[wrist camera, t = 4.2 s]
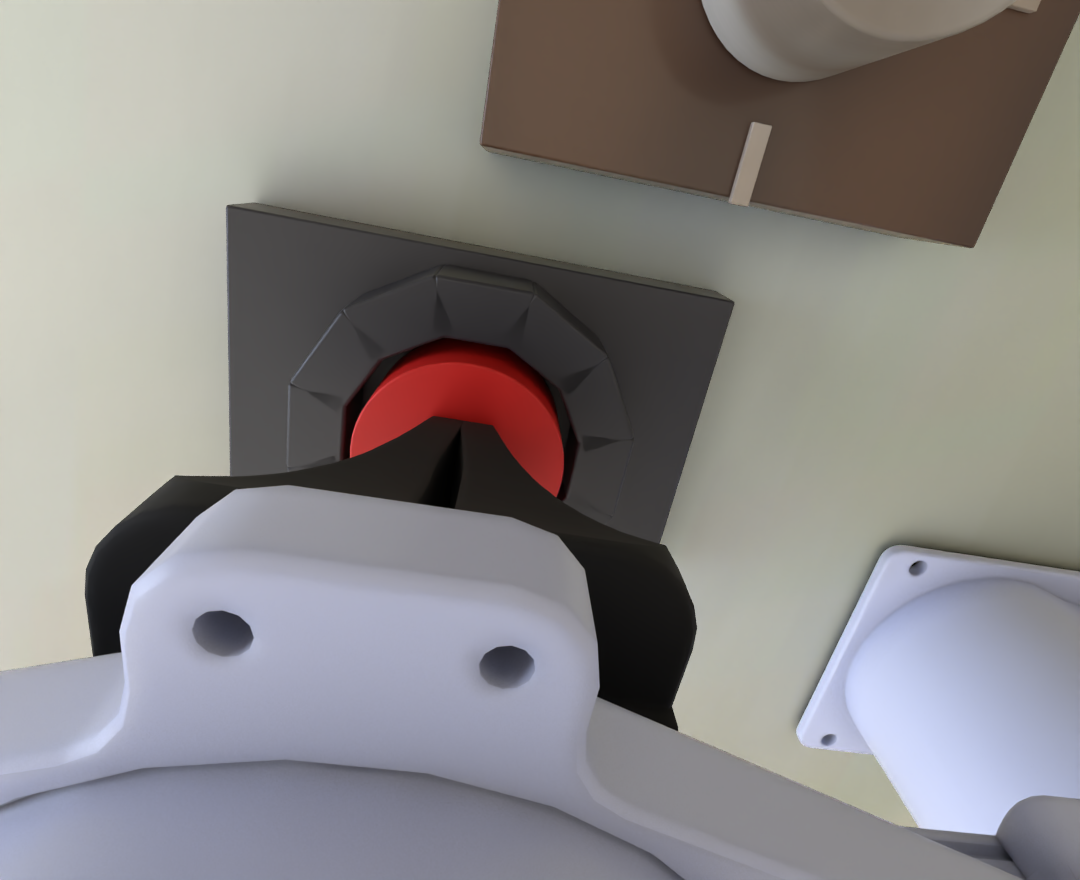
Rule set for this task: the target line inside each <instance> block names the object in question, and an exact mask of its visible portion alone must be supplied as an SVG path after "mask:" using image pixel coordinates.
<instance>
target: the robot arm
mask: <svg viewBox="0 0 1080 880" xmlns="http://www.w3.org/2000/svg"><path fill="white" fill-rule="evenodd" d="M917 561H918V563H917V564H916V565H915V566H913V567H910V566H911V565H912V564H913V563H915V562H917ZM85 599H86V607H87V614H88V622H89V629H90V637H91V644H92V652H93V657H88V658H82V659H75V660H69V661H63V662H56V663H50V664H44V665H37V666H31V667H25V668H18V669H12V670H6V671H0V880H1080V571H1073V570H1066V569H1060V568H1053V567H1046V566H1040V565H1033V564H1026V563H1020V562H1013V561H1007V560H1000V559H993V558H987V557H980V556H973V555H967V554H960V553H953V552H947V551H940V550H934V549H927V548H920V547H914V546H907V545H895V546H892V547H889V548H888V549H886V550H885V551H884V552H883V553H882V554H881V556H880V557H879V560H878V562H877V564H876V566H875V568H874V570H873V572H872V574H871V576H870V578H869V580H868V582H867V584H866V586H865V588H864V590H863V593H862V595H861V597H860V599H859V601H858V603H857V605H856V607H855V609H854V611H853V613H852V615H851V617H850V619H849V621H848V623H847V625H846V628H845V630H844V632H843V634H842V636H841V638H840V640H839V642H838V644H837V646H836V648H835V650H834V652H833V654H832V656H831V658H830V661H829V663H828V665H827V667H826V669H825V671H824V673H823V675H822V677H821V679H820V681H819V683H818V685H817V687H816V689H815V691H814V693H813V696H812V698H811V700H810V702H809V704H808V706H807V708H806V710H805V712H804V714H803V716H802V718H801V720H800V722H799V724H798V726H797V729H796V734H797V736H798V738H799V740H800V742H801V744H802V745H804V746H806V747H809V748H817V749H826V750H835V751H844V752H853V753H862V754H872V755H874V756H875V757H876V759H877V761H878V762H879V764H880V766H881V767H882V769H883V770H884V772H885V774H886V775H887V777H888V778H889V780H890V782H891V783H892V785H893V786H894V788H895V790H896V791H897V793H898V795H899V796H900V798H901V799H902V801H903V803H904V804H905V806H906V807H907V809H908V811H909V812H910V814H911V816H912V817H913V819H914V820H915V822H916V824H917V825H918V827H919V828H913V827H903V826H898V825H895V824H893V823H891V822H888V821H886V820H884V819H881V818H879V817H877V816H874V815H872V814H870V813H867V812H865V811H863V810H860V809H858V808H856V807H853V806H851V805H849V804H846V803H844V802H842V801H839V800H837V799H834V798H832V797H830V796H827V795H825V794H823V793H820V792H818V791H816V790H813V789H811V788H809V787H806V786H804V785H802V784H799V783H797V782H795V781H792V780H790V779H788V778H785V777H783V776H781V775H778V774H776V773H774V772H771V771H769V770H767V769H764V768H762V767H760V766H757V765H755V764H753V763H750V762H748V761H746V760H743V759H741V758H739V757H736V756H734V755H732V754H729V753H727V752H725V751H722V750H720V749H718V748H715V747H713V746H711V745H708V744H706V743H704V742H701V741H699V740H697V739H694V738H692V737H690V736H687V735H685V734H683V733H680V732H678V726H677V722H676V719H675V716H674V712H673V709H672V705H673V702H674V699H675V696H676V694H677V691H678V688H679V685H680V683H681V680H682V677H683V675H684V672H685V669H686V666H687V664H688V661H689V658H690V656H691V653H692V650H693V645H694V640H695V635H696V630H697V625H696V617H695V610H694V605H693V603H692V600H691V598H690V595H689V593H688V590H687V588H686V585H685V583H684V581H683V578H682V576H681V574H680V571H679V569H678V567H677V565H676V564H675V562H674V560H673V558H672V556H671V554H670V552H669V551H668V549H667V547H666V546H665V545H662V544H659V543H655V542H652V541H649V540H646V539H642V538H639V537H636V536H633V535H630V534H626V533H623V532H621V531H618V530H616V529H614V528H611V527H609V526H607V525H604V524H602V523H600V522H597V521H595V520H593V519H591V518H589V517H587V516H585V515H584V514H582V513H580V512H579V511H577V510H575V509H574V508H572V507H570V506H568V505H567V504H565V503H564V502H562V501H561V500H559V499H558V498H556V497H555V496H554V495H552V494H551V493H550V492H549V491H547V490H546V489H545V488H544V487H542V486H541V485H540V484H539V483H538V482H537V481H536V480H535V479H533V478H532V477H531V475H530V474H529V473H528V472H527V471H526V470H525V469H524V468H523V467H522V466H521V465H520V464H519V462H518V461H517V460H516V459H515V458H514V456H513V455H512V454H511V452H510V451H509V450H508V448H507V447H506V445H505V443H504V442H503V440H502V439H501V437H500V435H499V434H498V432H497V431H496V429H495V428H494V426H493V425H488V424H482V423H476V422H469V421H463V420H457V419H451V418H444V417H438V416H432V417H430V418H429V419H427V420H425V421H424V422H422V423H421V424H419V425H417V426H416V427H414V428H413V429H411V430H409V431H407V432H406V433H404V434H402V435H401V436H399V437H397V438H395V439H393V440H391V441H389V442H387V443H385V444H383V445H381V446H378V447H376V448H374V449H372V450H370V451H368V452H365V453H363V454H360V455H357V456H354V457H351V458H348V459H345V460H342V461H339V462H335V463H331V464H327V465H322V466H317V467H312V468H307V469H303V470H298V471H292V472H284V473H276V474H266V475H252V476H174V477H173V478H172V479H170V480H169V481H168V482H167V483H165V484H164V485H163V486H162V487H161V488H159V489H158V490H157V491H156V492H155V493H153V494H152V495H151V496H150V497H149V498H147V499H146V500H145V501H144V502H143V503H142V504H141V505H139V506H138V507H137V508H136V509H135V510H134V511H132V512H131V513H130V514H129V515H128V516H127V517H126V518H124V519H123V520H122V521H121V522H120V523H119V524H117V525H116V526H115V527H114V528H113V529H112V530H111V531H110V532H109V533H108V534H107V535H106V536H105V537H104V538H103V539H102V540H101V542H100V543H99V544H98V545H97V546H96V547H95V550H94V552H93V554H92V557H91V559H90V561H89V563H88V566H87V568H86V580H85Z"/></svg>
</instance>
